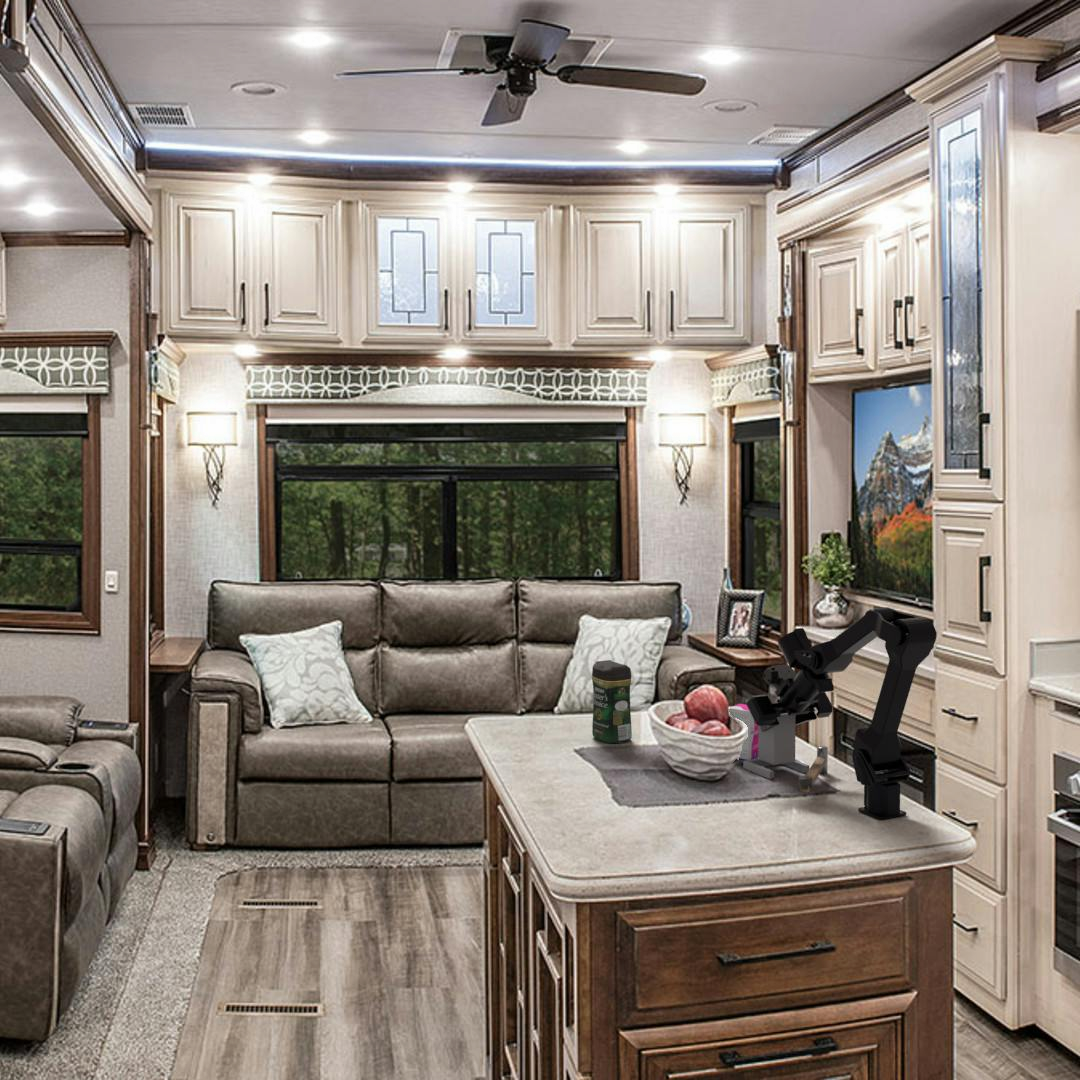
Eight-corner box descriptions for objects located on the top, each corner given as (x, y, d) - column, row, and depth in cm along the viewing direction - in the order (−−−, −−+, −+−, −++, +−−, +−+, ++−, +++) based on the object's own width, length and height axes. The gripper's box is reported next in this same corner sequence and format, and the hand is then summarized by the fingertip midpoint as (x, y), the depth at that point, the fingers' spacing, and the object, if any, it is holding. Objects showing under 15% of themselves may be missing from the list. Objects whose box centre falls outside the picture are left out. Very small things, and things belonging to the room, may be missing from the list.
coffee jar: (586, 737, 294) (586, 659, 292) (615, 732, 298) (615, 656, 296) (608, 746, 285) (607, 666, 284) (637, 741, 289) (636, 663, 288)
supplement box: (749, 762, 270) (750, 711, 269) (725, 758, 274) (726, 707, 273) (762, 757, 275) (762, 706, 274) (738, 753, 278) (738, 702, 277)
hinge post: (829, 773, 261) (829, 747, 260) (821, 774, 260) (821, 749, 259) (823, 770, 263) (823, 745, 262) (814, 772, 262) (814, 746, 261)
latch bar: (827, 763, 259) (827, 752, 259) (811, 792, 239) (811, 780, 238) (814, 762, 260) (814, 751, 260) (797, 791, 240) (797, 779, 239)
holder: (809, 772, 261) (809, 765, 261) (769, 779, 257) (769, 771, 257) (781, 762, 270) (781, 754, 270) (742, 768, 266) (743, 760, 266)
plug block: (795, 761, 262) (795, 708, 261) (773, 764, 260) (774, 711, 259) (779, 755, 267) (779, 703, 266) (758, 758, 264) (758, 706, 263)
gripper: (824, 650, 262) (792, 692, 272) (751, 658, 254) (721, 701, 264) (848, 694, 255) (814, 735, 266) (774, 703, 247) (742, 745, 258)
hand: (773, 728), depth 264 cm, fingers closed on plug block, 5 cm apart
